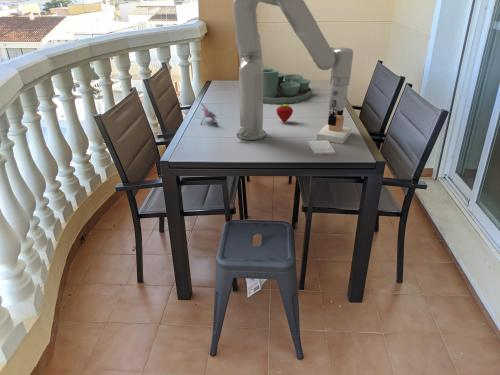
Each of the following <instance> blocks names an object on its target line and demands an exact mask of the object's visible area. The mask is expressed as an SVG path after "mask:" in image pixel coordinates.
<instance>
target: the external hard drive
mask: <svg viewBox="0 0 500 375" xmlns="http://www.w3.org/2000/svg"><path fill="white" fill-rule="evenodd" d="M307 144H308V146H309V148H310V149H311V151H312V153H313V154H314V156H324V155H326V156H329V155H330V156H331V155H332V156H333V155H334V156H335V155H337V153H336V151H335V149H334V147H333V146H332V144H331V142H329V141H328V140H308V141H307Z"/></svg>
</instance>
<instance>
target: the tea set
mask: <svg viewBox="0 0 500 375" xmlns="http://www.w3.org/2000/svg"><path fill="white" fill-rule="evenodd" d="M303 77H304V76H303V75H300V74H294V73H293V74H291V73H290V74H285V73H282V72H280V69H278V68H276V67H271V68H270V67H269V66H264V65H263V104H270V105H273V104H274V105H283V104H293V103H294V104H295V103H298V102H304V101H306V100H308V99H309V98H310V97H311V96H312V92H313V90H312V88H311V87H310V83H311V80H310V79H309V78H303Z"/></svg>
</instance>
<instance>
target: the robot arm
mask: <svg viewBox="0 0 500 375" xmlns="http://www.w3.org/2000/svg"><path fill="white" fill-rule="evenodd" d="M259 3H264V4H267V5H271V6H275V7H279V9H280V10H281V12H282V14H283V15H284V17H285V19H286V21H287V22H288V23H289V26H290V27H291V28H292V30H293V32H294V34H296V36H297V38H298V39H299V41H301V42H302V44H303V46H304V47H305V48H306V50H307V52H308V53H309V56H310V57H311V58H312V61H313V62H314V64H315V66H316V67H317V68H318V69H320V70H321V71H328V70H330V69H331V72H330V73H331V74H330V79H329V80H330V81H329V84H330V85H331V90H330V96H329V106H328V109H329V111H328V120H327V124H328V125H332V126H335V125H336V119H337V116H336V115H341V116H344V115H343V114H344V109H345V108H346V106H347V103H348V102H347V101H348V88H349V86H350V82H351V75H352V65H353V57H354V50H353V49H352V48H351V47H350V48H349V47H331V46H330V45H329V43H328V40H327V39H326V38H325V35H324V34H323V33H322V30H321V29H320V27H319V25H318V23H317V20H316V19H315V18H314V16H313V13H312V12H311V11H310V8H308V5H307V4H306V2H305V0H233V5H232V6H233V8H232V9H233V19H234V20H233V21H234V31H235V32H234V33H235V43H236V44H235V45H236V48H237V51H238V52H237V53H238V60H239V67H238V87H239V88H238V89H239V90H238V92H239V130H237V131H236V137H237V138H238V139H241V140H246V141H257V140H261V139H263V138H265V137H266V136H267V131H266V130H265V129H263V126H264V125H263V124H264V123H263V122H264V116H263V115H264V111H263V110H264V103H263V66H264V64H263V54H262V45H261V36H260V33H259V29H258V19H257V18H258V15H257V9H258V8H257V7H258V6H259V5H258V4H259Z"/></svg>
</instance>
